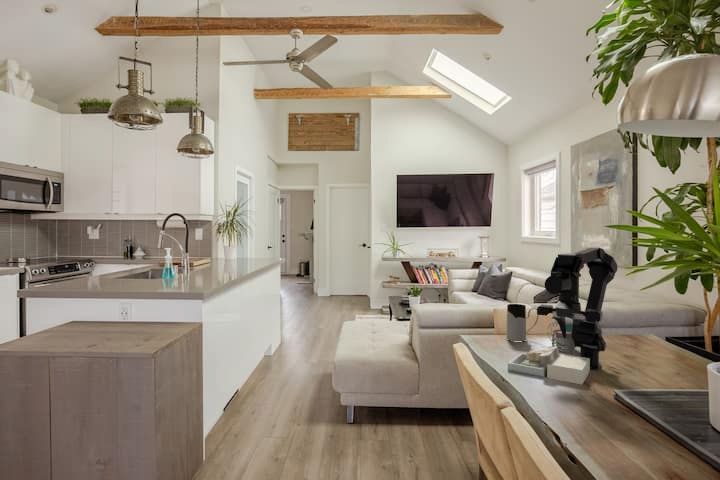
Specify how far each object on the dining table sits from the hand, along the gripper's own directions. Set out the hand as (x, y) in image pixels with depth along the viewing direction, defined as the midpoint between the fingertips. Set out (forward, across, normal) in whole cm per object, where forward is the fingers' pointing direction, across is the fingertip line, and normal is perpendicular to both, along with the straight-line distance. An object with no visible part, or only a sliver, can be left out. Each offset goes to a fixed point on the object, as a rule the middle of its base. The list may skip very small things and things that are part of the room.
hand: (568, 338), depth 138 cm
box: (+12, -12, 0) cm, 17 cm away
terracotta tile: (+9, -11, +3) cm, 15 cm away
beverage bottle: (+12, -6, +32) cm, 35 cm away
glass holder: (+12, -25, +37) cm, 47 cm away
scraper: (+6, -4, 0) cm, 7 cm away
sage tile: (+9, -11, -4) cm, 15 cm away
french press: (+12, -6, +19) cm, 24 cm away
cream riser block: (+12, 0, 0) cm, 12 cm away
